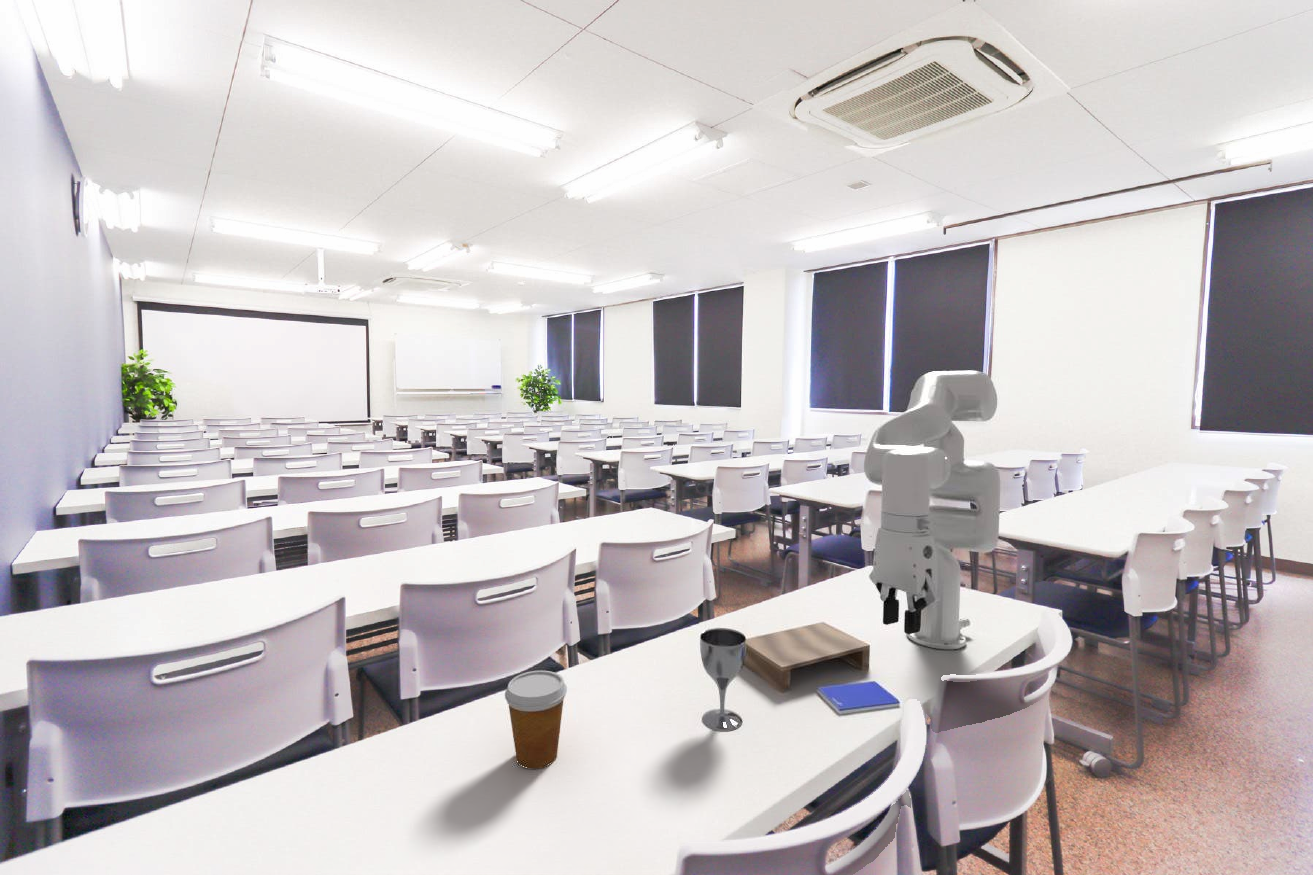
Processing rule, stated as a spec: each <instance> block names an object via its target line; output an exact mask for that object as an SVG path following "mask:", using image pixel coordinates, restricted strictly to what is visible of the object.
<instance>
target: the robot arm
mask: <svg viewBox="0 0 1313 875" xmlns="http://www.w3.org/2000/svg"><path fill="white" fill-rule="evenodd" d="M909 398H910V399H909V402H908V405H907V409H906V411H903V412H902V413H900V414H898V415H896V416H894V417H892V418H890V419H889V420H888V421H886V422H884V423H883V424H880V426H879V427H878V428H877V429H876V430H875V431H874V432H873V434H872V435H871V436H872V437H871V439H870V442H869V444H868V447H867V450H866V452H865V456H864V463H863V470H864V475H865V477H866V478H867V480H868V481H869V482H870V483H872V484H874V485H878V486H881V507H880V508H881V511H880V526H879V527H878V529H877V533H876V538H875V543H874V544H875V545H874V551H873V560H872V561H873V564H872V565H873V566H872V570H871V572H870V573H869V576H868V578H869V579H870V581H871V582H872V583H873V585H874V586H875V588H876V590H877V592H878V593H879V595H880V596H879V598H880V600H881V602H883V603H882V604H883V605H882V606H883V607H882V610H883V611H882V623H883V625H885V626H888V625H892V624H895V623H896V624H897V623H898V622H899V620H900V619H899V618H900V616H899V615H900V600H899V599H898V598H897V595H898V591H901V592H903V593H905V594H906V603H907V609H906V610H905V611H904V622H903V624H904V626H903V627H904V628H903V632H904V633H905V634H906V636H907V638H908V639H910V640H911V641H912V642H914V643H916V644H919V645H922V646H924V647H928V648H933V649H939V650H958V649H961V648H963V647H964V646H965V645H966V644H967V641H966V640H967V638H966V637H965V635H963V633H962V632H961V630H962V629H963V628H966V627H970V625H971V622H970V619H969V618H966V617H965V618H960V606H961V605H960V604H961V603H960V602H961V577H962V576H961V574H962V569H961V565H960V563H959V560H958V559H957V558H956V556H955V555H954V554H953V552H952V550H959V551H960V550H961V551H968V552H974V553H975V552H976V553H991V552H993V551H994V550H995V549H996V547H997V545H998V541H999V534H1000V533H999V531H1000V512H1001V511H1000V506H1001V477H1000V476H1001V475H1000V473H999V469H998V467H997V466H996V465H995V464H993V463H991V462H988V461H982V460H981V461H980V460H966V459H965V457H964V453H965V452H964V451H965V438H964V436H963V433H962V432H961V431H960V429H959V428H958V427H957V426H956V424H954V422H987V421H990V420H991V419H992V418H993V417H994V416H995V414H996V411H997V407H998V394H997V390H996V388H995V385H994V383H993V380H992V379H991V377H990V376H989V375H988V374H986V373H985V372H982V371H979V370H949V371H947V370H942V371H938V370H937V371H931V372H928V373H925V374H923V375H921V376H920V377H919V378H918V379H917V380H916V382H915V384H914V386H913V388H912V390H911V393H910V397H909ZM953 421H954V422H953ZM919 445H923V446H919ZM930 499H935V500H941V501H951V502H960V503H971V504H973V505H974V506H976V508H968V507H967V508H965V507H957V506H948V505H947V506H946V505H936V504H935V505H934V504H931V505H930Z"/></svg>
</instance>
